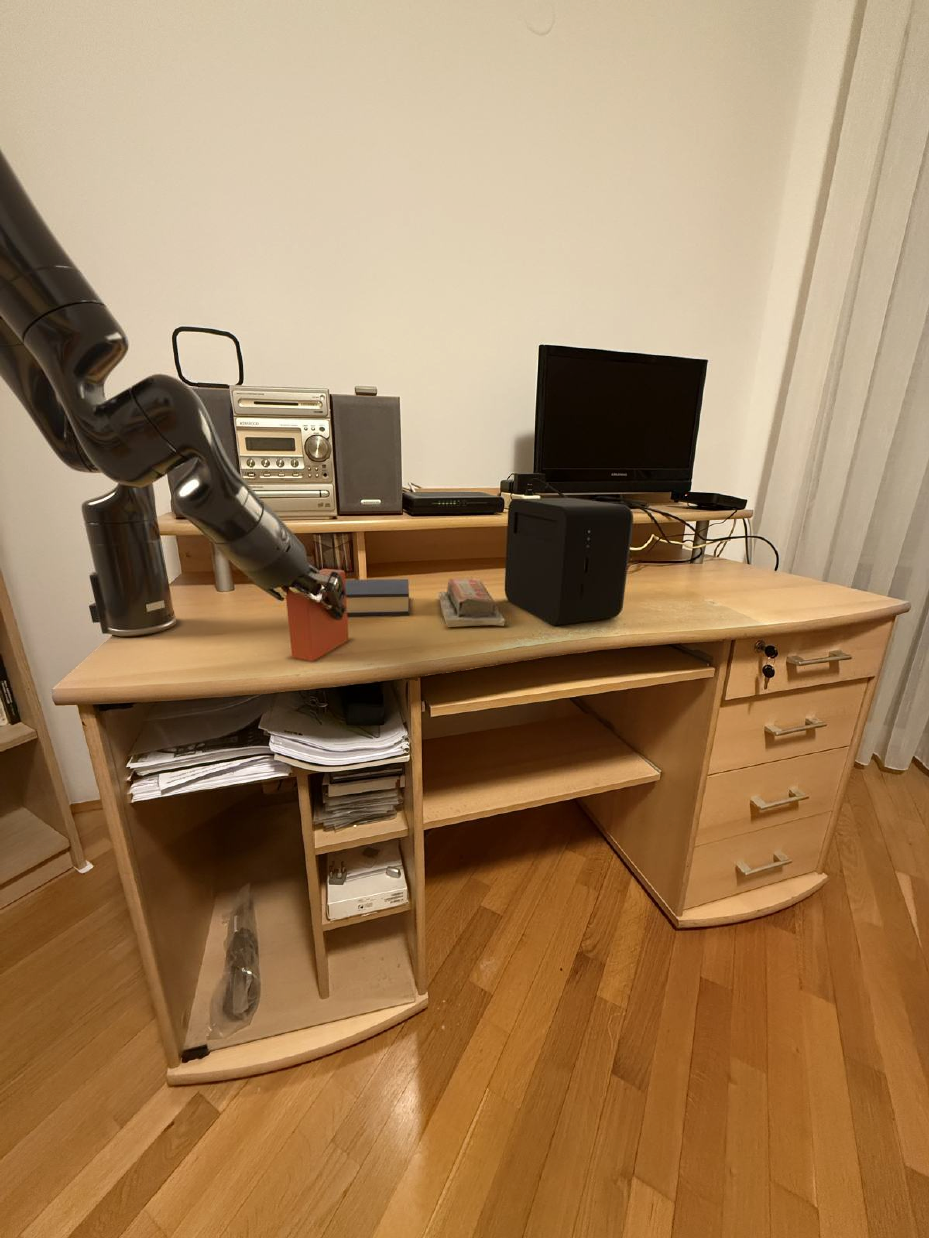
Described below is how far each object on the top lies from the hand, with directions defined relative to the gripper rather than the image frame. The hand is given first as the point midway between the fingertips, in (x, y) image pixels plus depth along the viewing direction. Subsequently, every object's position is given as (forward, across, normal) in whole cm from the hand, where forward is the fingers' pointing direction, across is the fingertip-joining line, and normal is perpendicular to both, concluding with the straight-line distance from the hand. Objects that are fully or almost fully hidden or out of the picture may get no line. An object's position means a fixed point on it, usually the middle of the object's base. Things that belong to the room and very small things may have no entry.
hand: (327, 612), depth 72 cm
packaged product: (+20, +14, +13) cm, 28 cm away
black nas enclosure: (+27, +30, +19) cm, 44 cm away
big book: (+17, -4, +10) cm, 21 cm away
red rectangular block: (+2, 0, -5) cm, 5 cm away
